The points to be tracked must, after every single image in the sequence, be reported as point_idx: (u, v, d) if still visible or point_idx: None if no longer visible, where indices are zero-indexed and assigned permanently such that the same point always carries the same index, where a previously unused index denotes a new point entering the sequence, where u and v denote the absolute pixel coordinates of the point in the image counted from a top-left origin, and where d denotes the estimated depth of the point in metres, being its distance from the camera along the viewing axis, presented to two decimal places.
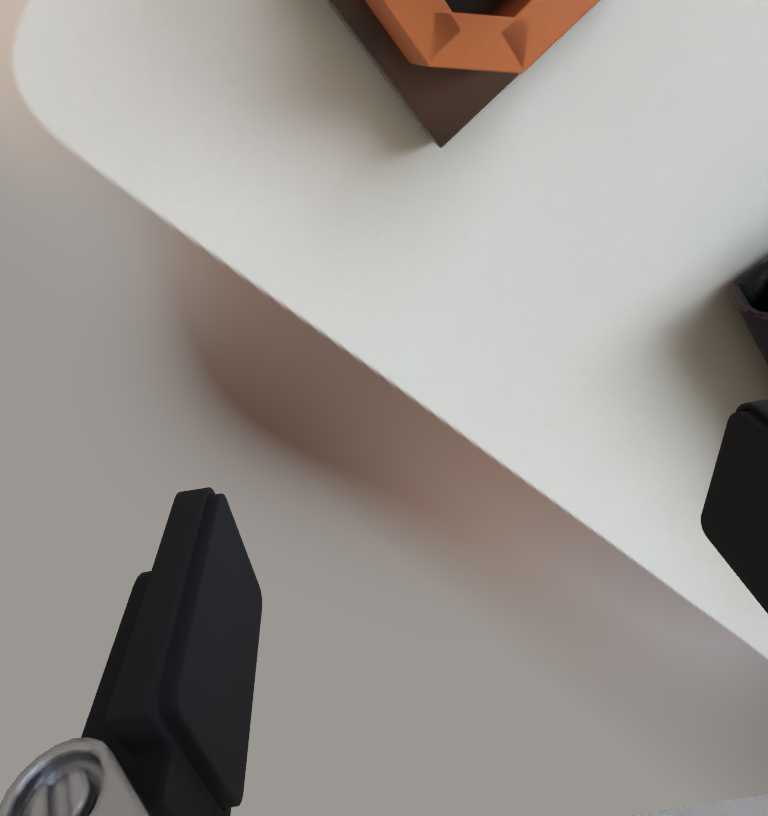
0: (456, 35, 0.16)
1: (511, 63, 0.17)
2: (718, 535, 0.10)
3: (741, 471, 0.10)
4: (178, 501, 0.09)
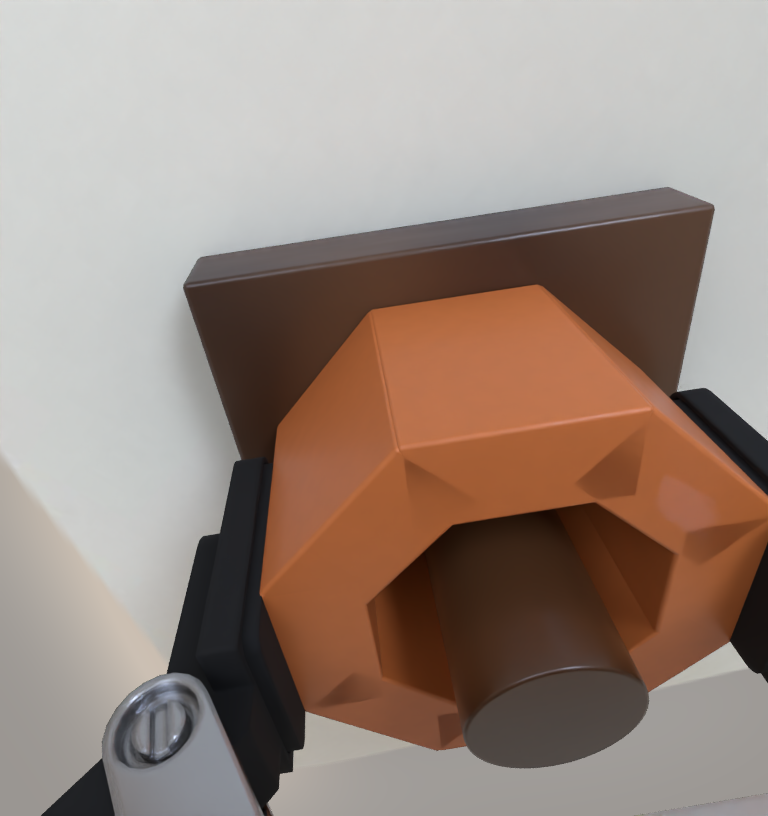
0: None
1: (704, 649, 0.09)
2: None
3: None
4: (237, 469, 0.10)
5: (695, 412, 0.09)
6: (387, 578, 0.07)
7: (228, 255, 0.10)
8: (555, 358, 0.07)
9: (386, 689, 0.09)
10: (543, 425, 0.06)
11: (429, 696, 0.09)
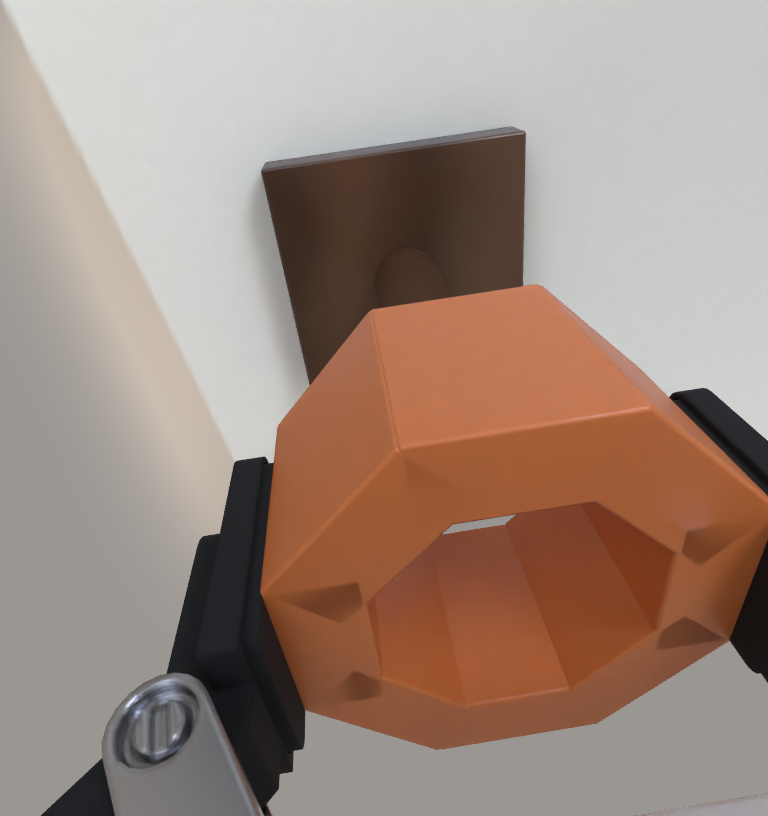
0: (599, 693, 0.10)
1: (703, 648, 0.09)
2: None
3: None
4: (237, 469, 0.10)
5: (695, 412, 0.09)
6: (387, 577, 0.07)
7: (281, 160, 0.19)
8: (555, 358, 0.07)
9: (386, 688, 0.09)
10: (543, 424, 0.06)
11: (429, 695, 0.09)
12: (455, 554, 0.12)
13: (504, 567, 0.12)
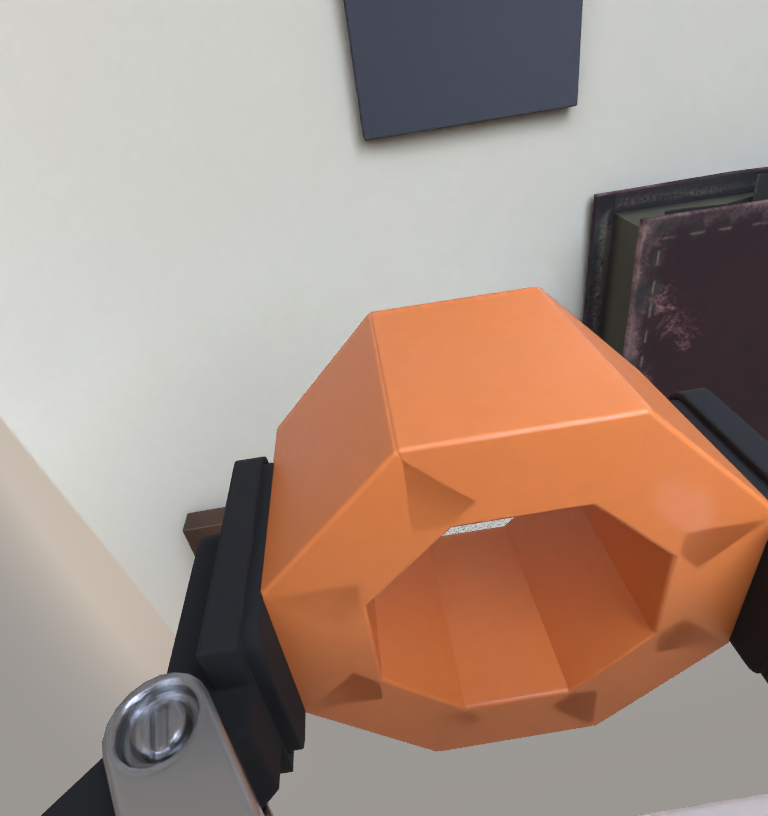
0: (598, 695, 0.10)
1: (702, 650, 0.09)
2: None
3: None
4: (237, 468, 0.10)
5: (695, 412, 0.09)
6: (386, 580, 0.07)
7: (196, 514, 0.34)
8: (553, 361, 0.07)
9: (385, 690, 0.09)
10: (541, 428, 0.06)
11: (428, 697, 0.09)
12: (454, 555, 0.12)
13: (504, 569, 0.12)
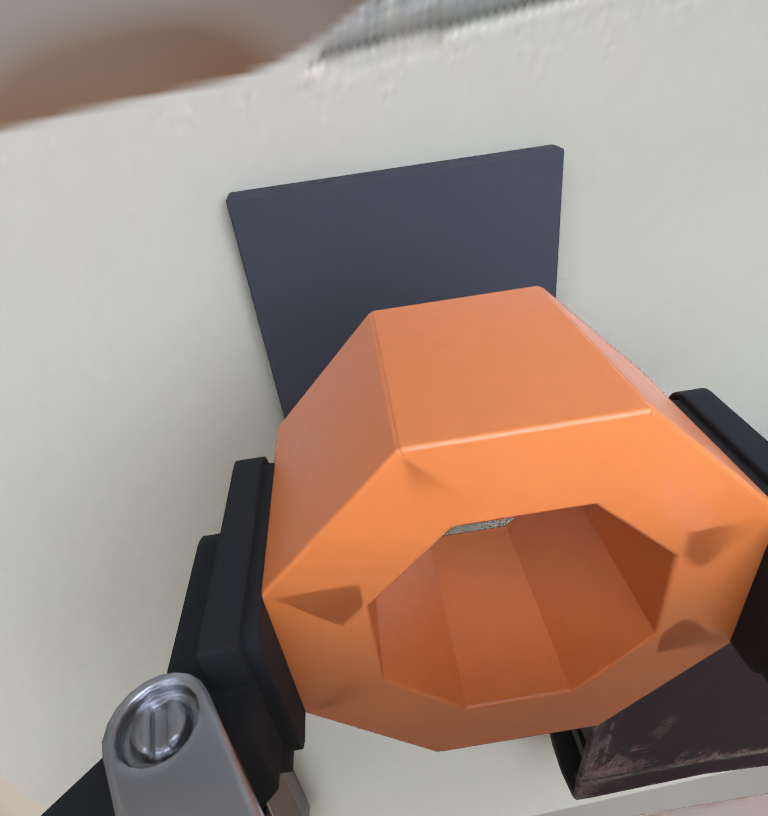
0: (599, 695, 0.10)
1: (704, 650, 0.09)
2: None
3: None
4: (237, 468, 0.10)
5: (695, 412, 0.09)
6: (388, 579, 0.07)
7: None
8: (555, 359, 0.07)
9: (387, 690, 0.09)
10: (543, 426, 0.06)
11: (430, 697, 0.09)
12: (455, 555, 0.12)
13: (505, 569, 0.12)
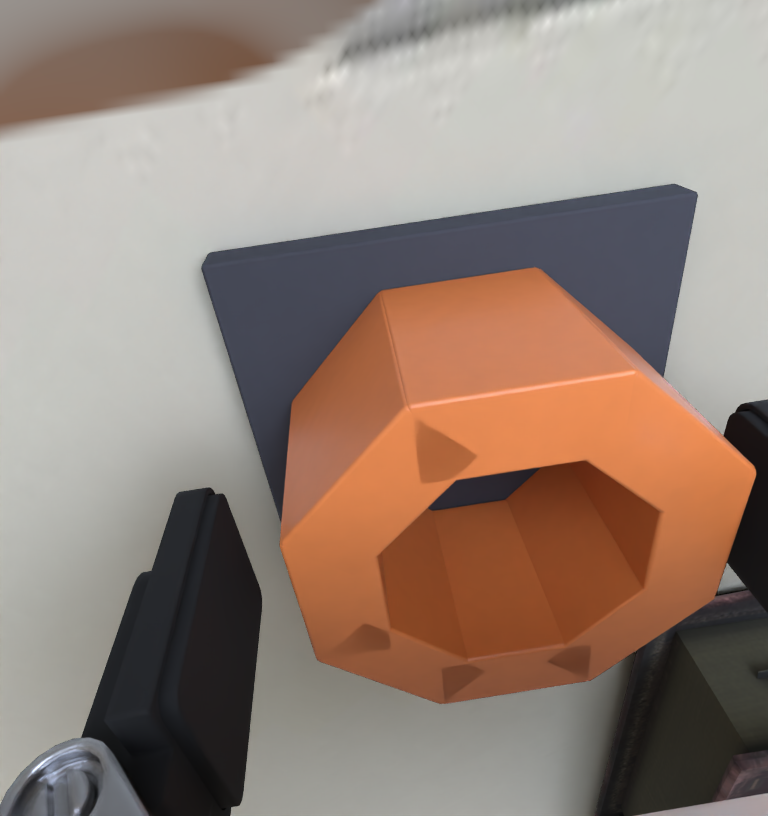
0: (592, 649, 0.10)
1: (689, 606, 0.10)
2: None
3: None
4: (178, 501, 0.09)
5: None
6: (396, 530, 0.08)
7: None
8: (550, 330, 0.08)
9: (394, 640, 0.10)
10: (538, 386, 0.07)
11: (433, 648, 0.10)
12: (457, 526, 0.13)
13: (504, 537, 0.12)
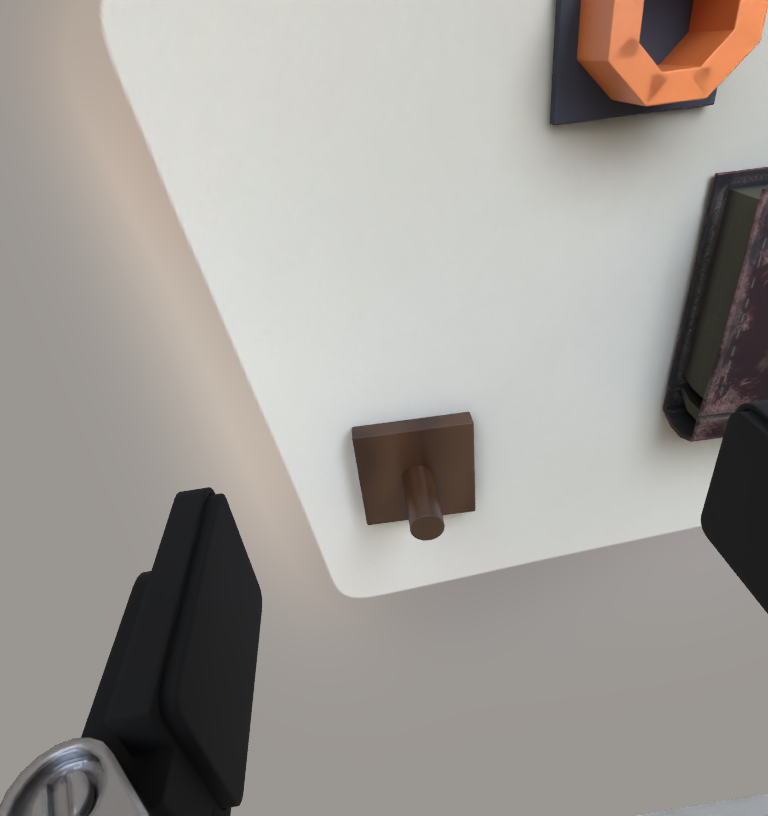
0: (710, 71, 0.26)
1: (750, 45, 0.26)
2: (719, 535, 0.10)
3: (741, 471, 0.10)
4: (178, 501, 0.09)
5: None
6: None
7: (359, 427, 0.41)
8: None
9: (638, 50, 0.25)
10: None
11: (651, 58, 0.26)
12: None
13: (663, 66, 0.28)
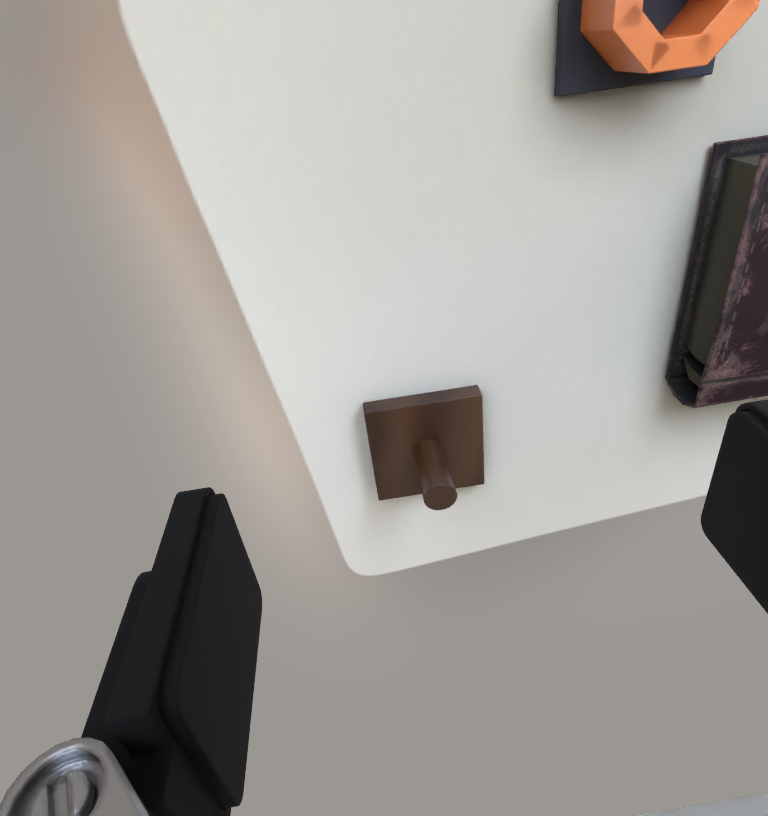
0: (710, 38, 0.27)
1: (748, 12, 0.27)
2: (719, 534, 0.10)
3: (741, 471, 0.10)
4: (178, 501, 0.09)
5: None
6: None
7: (370, 402, 0.42)
8: None
9: (642, 18, 0.26)
10: None
11: None
12: None
13: (664, 35, 0.29)
